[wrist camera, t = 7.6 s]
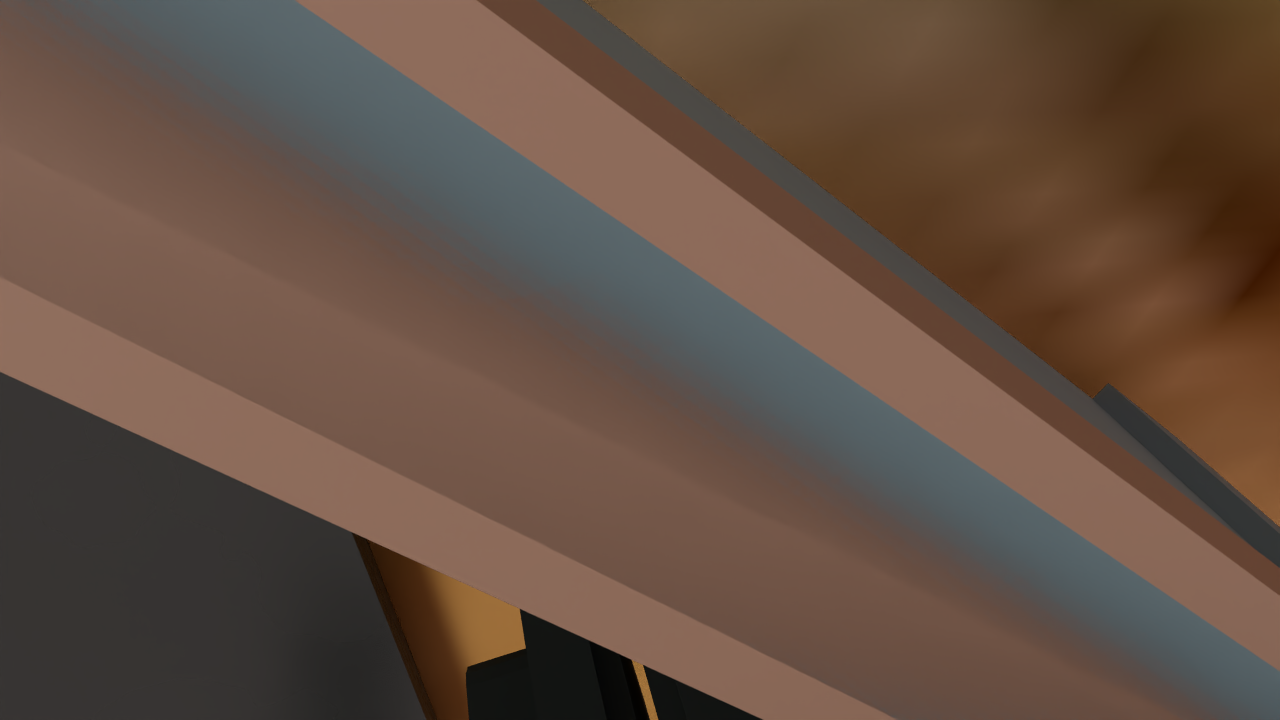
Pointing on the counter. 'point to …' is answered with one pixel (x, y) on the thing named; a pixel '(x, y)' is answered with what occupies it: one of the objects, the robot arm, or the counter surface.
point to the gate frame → (177, 587)
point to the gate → (600, 363)
